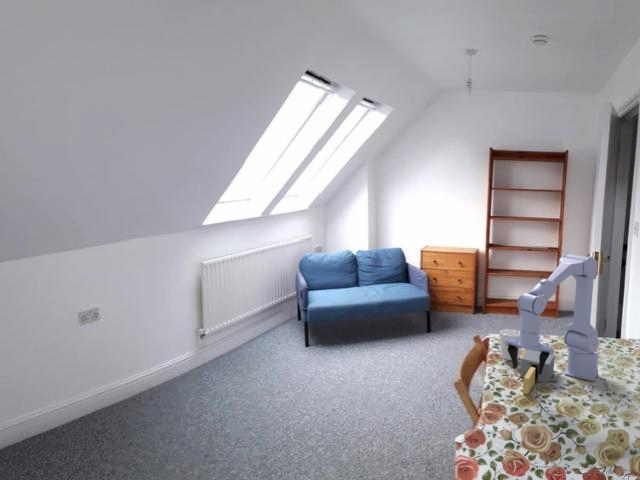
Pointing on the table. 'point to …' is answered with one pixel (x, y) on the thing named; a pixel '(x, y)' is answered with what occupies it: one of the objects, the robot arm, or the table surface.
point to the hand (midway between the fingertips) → (527, 370)
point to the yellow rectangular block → (529, 380)
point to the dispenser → (537, 365)
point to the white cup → (503, 336)
